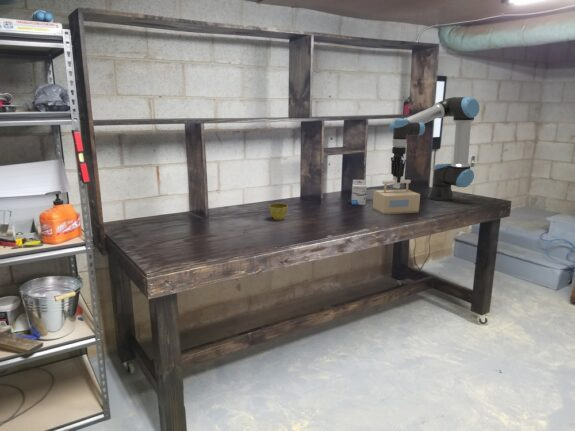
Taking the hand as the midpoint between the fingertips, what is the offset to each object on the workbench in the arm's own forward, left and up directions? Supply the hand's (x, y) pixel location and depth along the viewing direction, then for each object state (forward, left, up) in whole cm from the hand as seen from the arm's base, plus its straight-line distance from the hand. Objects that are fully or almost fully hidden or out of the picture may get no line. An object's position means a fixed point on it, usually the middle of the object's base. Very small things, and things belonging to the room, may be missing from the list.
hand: (396, 187), depth 254 cm
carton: (0, +1, -13) cm, 13 cm away
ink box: (+14, -20, -14) cm, 28 cm away
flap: (0, -2, -3) cm, 4 cm away
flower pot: (+71, +4, -14) cm, 72 cm away
